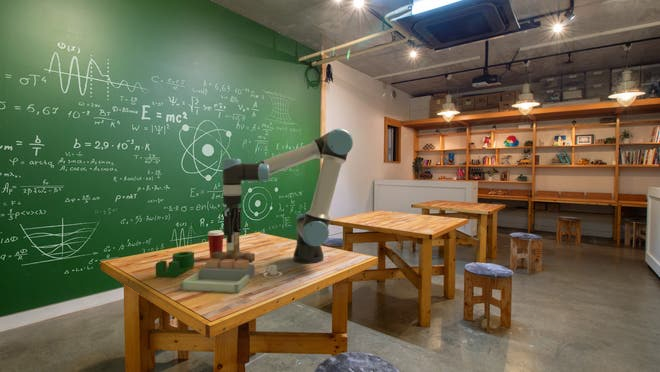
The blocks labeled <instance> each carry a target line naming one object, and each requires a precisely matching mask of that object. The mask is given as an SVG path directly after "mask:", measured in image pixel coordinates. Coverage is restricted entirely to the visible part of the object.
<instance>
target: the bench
mask: <svg viewBox="0 0 660 372" xmlns="http://www.w3.org/2000/svg"><path fill="white" fill-rule="evenodd" d="M198 273H199V279H211V280H232V281H240V280H241V279H242V278H243V277H244V276H246V275H249V281H250V280H251V279H252V278H253V277H254V276H255V264H250V263H249V266H248V267H247V268H245V269H234V266H233V267H232V268H220V266H219V267H217V268H209V267H206V264H205V265H203V266H202V267H200V268H199V269H198Z"/></svg>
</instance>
